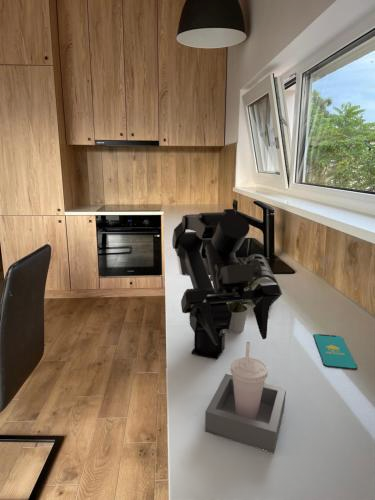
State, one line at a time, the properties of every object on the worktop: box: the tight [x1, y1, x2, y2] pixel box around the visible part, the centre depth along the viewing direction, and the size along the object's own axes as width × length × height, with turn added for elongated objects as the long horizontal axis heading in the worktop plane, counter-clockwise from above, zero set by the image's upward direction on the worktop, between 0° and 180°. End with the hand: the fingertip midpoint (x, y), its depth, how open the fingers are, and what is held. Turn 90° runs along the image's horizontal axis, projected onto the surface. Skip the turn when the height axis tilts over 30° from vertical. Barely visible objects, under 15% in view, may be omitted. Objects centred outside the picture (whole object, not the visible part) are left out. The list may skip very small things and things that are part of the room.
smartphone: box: [312, 333, 358, 371], centre depth 84 cm, size 7×1×15 cm
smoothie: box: [230, 341, 269, 420], centre depth 60 cm, size 6×6×14 cm
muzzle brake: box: [244, 253, 279, 290], centre depth 122 cm, size 10×28×10 cm, turn 174°
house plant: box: [226, 277, 260, 334], centre depth 93 cm, size 14×14×16 cm
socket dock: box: [204, 373, 287, 454], centre depth 61 cm, size 12×12×4 cm
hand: (241, 341), depth 62 cm, fingers open, 9 cm apart
